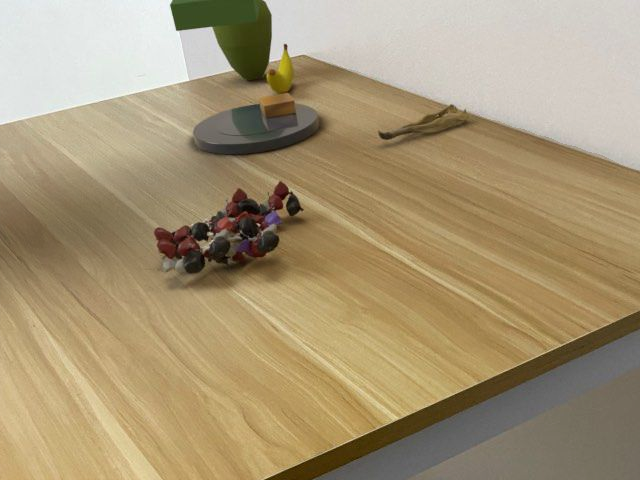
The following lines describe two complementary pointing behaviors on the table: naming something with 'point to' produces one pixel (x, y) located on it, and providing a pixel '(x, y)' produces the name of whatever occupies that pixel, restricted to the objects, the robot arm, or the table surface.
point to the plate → (254, 130)
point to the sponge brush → (212, 13)
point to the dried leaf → (428, 123)
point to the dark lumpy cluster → (227, 232)
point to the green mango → (247, 44)
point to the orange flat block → (277, 105)
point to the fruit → (281, 74)
